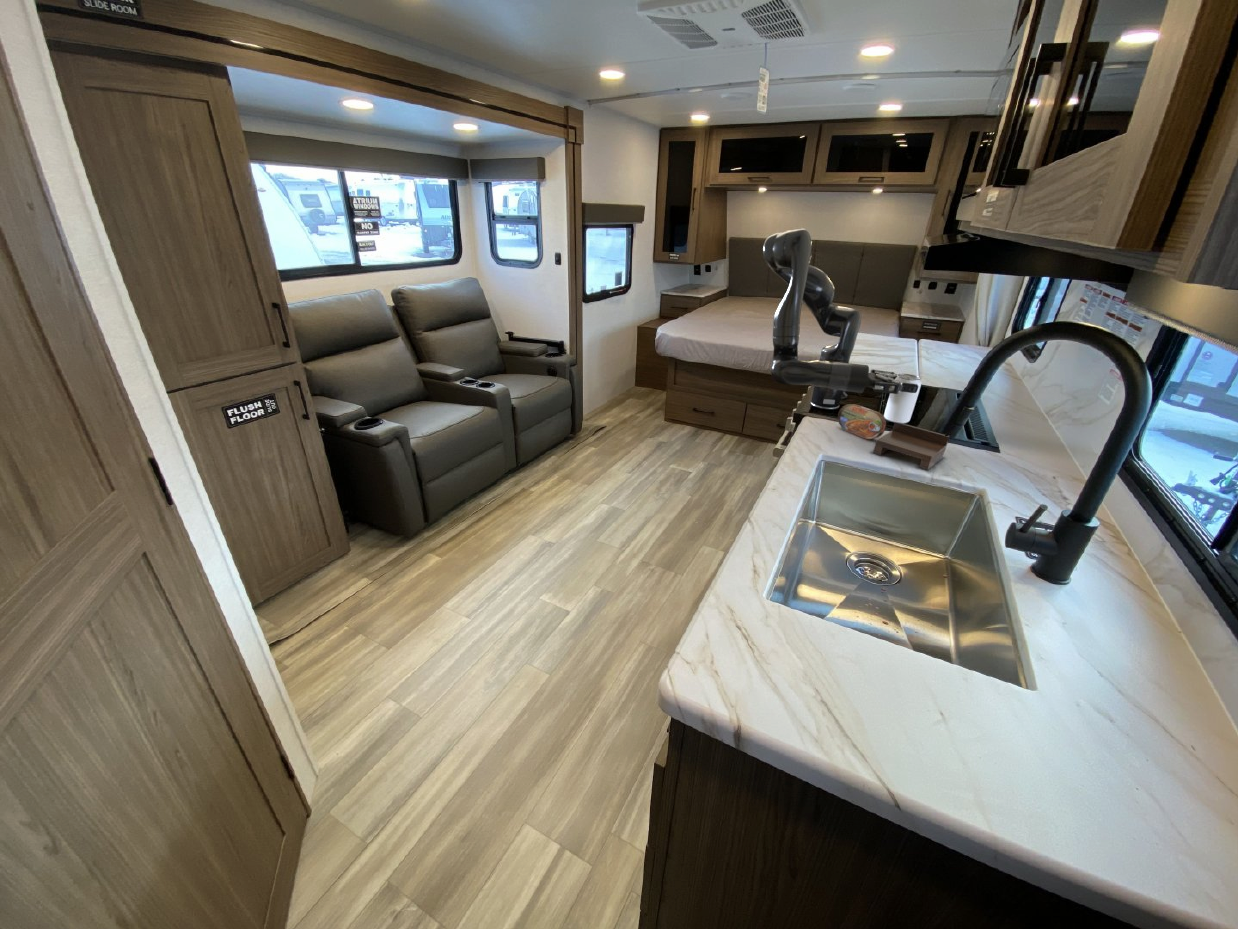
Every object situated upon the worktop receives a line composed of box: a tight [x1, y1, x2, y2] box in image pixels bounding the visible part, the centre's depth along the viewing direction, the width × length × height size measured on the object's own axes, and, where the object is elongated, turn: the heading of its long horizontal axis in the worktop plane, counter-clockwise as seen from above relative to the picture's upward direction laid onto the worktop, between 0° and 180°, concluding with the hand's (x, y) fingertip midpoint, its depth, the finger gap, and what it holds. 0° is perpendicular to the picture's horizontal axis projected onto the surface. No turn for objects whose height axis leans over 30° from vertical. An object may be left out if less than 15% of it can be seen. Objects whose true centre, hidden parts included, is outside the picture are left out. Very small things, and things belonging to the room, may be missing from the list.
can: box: [883, 373, 922, 424], centre depth 132 cm, size 6×6×12 cm
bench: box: [872, 422, 951, 471], centre depth 135 cm, size 12×14×6 cm
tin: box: [837, 403, 887, 440], centre depth 148 cm, size 15×3×8 cm, turn 27°
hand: (914, 384), depth 129 cm, fingers closed on can, 6 cm apart
